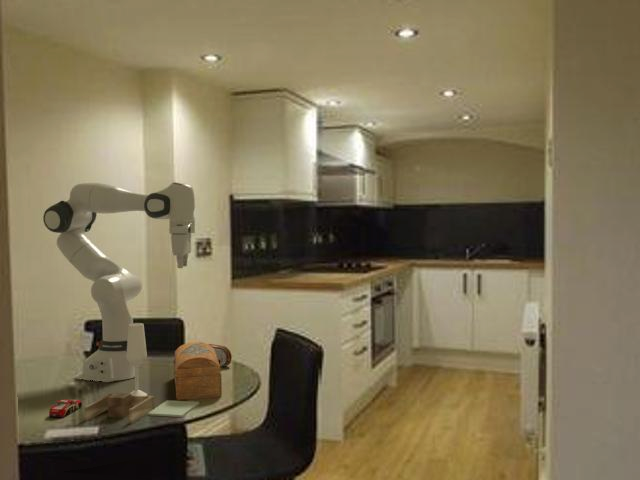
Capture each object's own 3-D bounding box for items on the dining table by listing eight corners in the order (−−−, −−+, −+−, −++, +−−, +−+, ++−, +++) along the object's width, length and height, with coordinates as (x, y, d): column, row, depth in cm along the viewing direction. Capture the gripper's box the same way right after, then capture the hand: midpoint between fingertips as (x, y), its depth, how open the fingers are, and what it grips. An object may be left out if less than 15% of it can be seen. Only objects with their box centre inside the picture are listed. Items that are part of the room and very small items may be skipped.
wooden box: (224, 397, 208) (224, 356, 208) (174, 400, 204) (173, 358, 204) (218, 376, 237) (218, 339, 237) (174, 378, 233) (173, 341, 233)
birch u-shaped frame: (84, 420, 183) (84, 407, 183) (109, 406, 197) (109, 393, 197) (132, 423, 180) (132, 409, 180) (154, 408, 194) (154, 396, 194)
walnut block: (108, 417, 186) (107, 397, 186) (116, 412, 191) (116, 392, 191) (123, 418, 186) (123, 398, 185) (131, 413, 190) (131, 393, 190)
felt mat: (147, 415, 188) (147, 413, 188) (167, 402, 202) (167, 400, 202) (182, 417, 186) (182, 415, 186) (199, 403, 200) (199, 401, 200)
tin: (232, 367, 251) (232, 346, 251) (227, 368, 249) (226, 347, 248) (204, 362, 259) (204, 342, 259) (199, 364, 257) (198, 343, 256)
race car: (68, 406, 199) (68, 393, 198) (84, 406, 198) (84, 394, 198) (45, 419, 185) (45, 405, 185) (62, 419, 185) (62, 406, 185)
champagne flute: (123, 394, 211) (122, 324, 210) (142, 391, 215) (142, 322, 214) (130, 399, 205) (130, 326, 205) (150, 395, 209) (149, 324, 209)
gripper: (177, 228, 231) (177, 265, 232) (168, 228, 211) (168, 269, 211) (194, 228, 232) (195, 265, 232) (187, 228, 211) (187, 269, 212)
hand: (182, 267), depth 221 cm, fingers open, 8 cm apart
